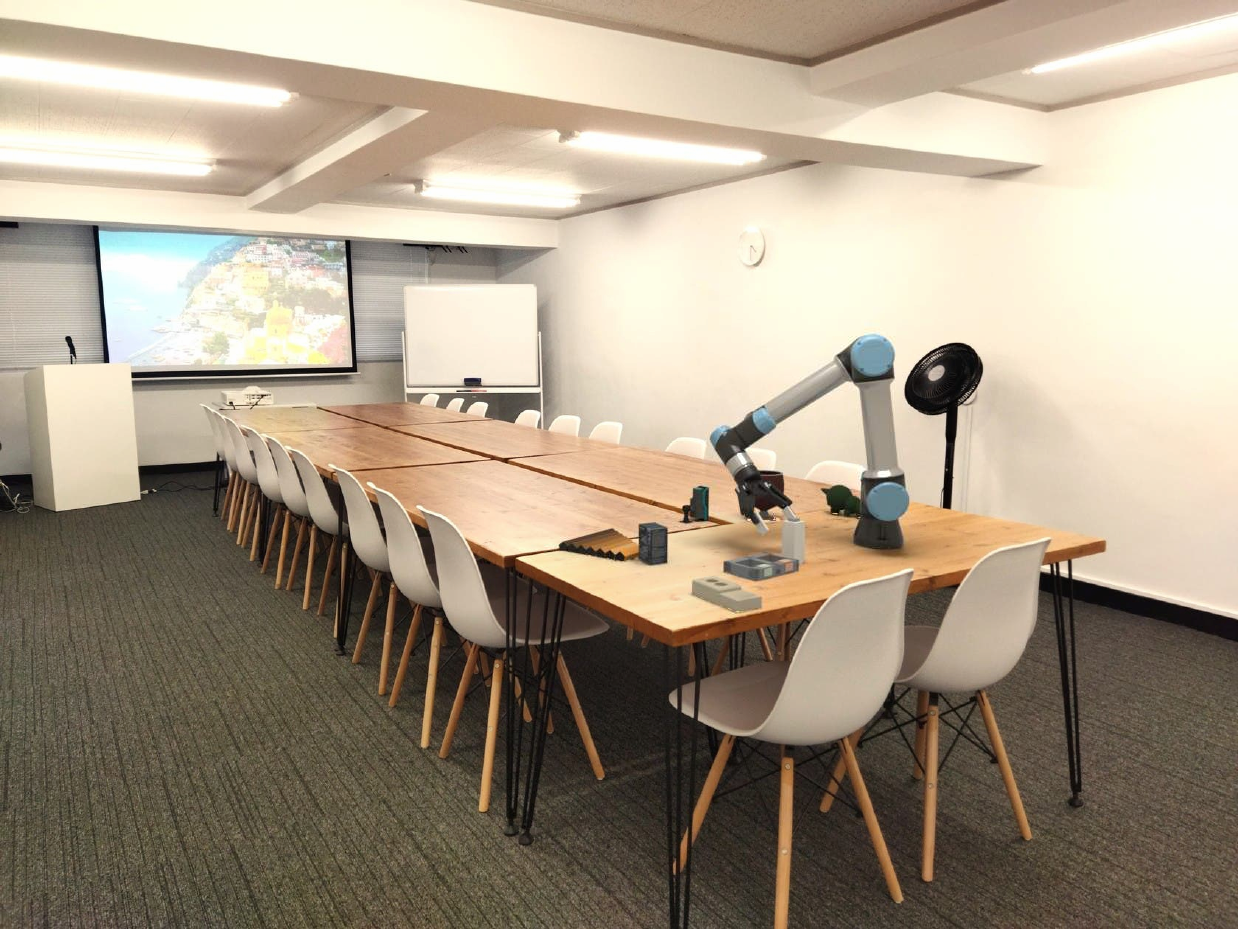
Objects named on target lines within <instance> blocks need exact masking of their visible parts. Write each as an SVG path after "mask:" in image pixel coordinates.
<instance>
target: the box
mask: <svg viewBox="0 0 1238 929" xmlns="http://www.w3.org/2000/svg"><path fill="white" fill-rule="evenodd" d="M668 531H669V527H668V526H665V525H662V524H660V523H657V522H655V521H654V522H645V523H638V545H639V557H638V560H640V561H642V562H644V563H647V564H648V565H649V566H657V565H665V564H668V555H669V554H668V552H669V551H668V549H669V547H668V545H669V544H668V543H669V542H668V541H669V538H668V537H669V535H668V534H669V532H668Z"/></svg>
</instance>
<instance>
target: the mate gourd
mask: <svg viewBox="0 0 1238 929" xmlns="http://www.w3.org/2000/svg"><path fill="white" fill-rule="evenodd" d="M758 471H759V472H760V474H761V480H762V481H763V482H764V483H766V482H767V481H768V480H770V481H771V482H772V483H773V485H774V486H775V487H776V488H778V489H779V490H780V491H781V492H782V493H783V494H784V495H785V480H784V479H785V478H784V472H782V471H778V470H770V469H769V470H768V469H767V470H765V469H762V470H761V469H758ZM766 493H767V491H766ZM746 498H747V493H746ZM776 507H778V506H776V505H775V504H773V503H771V502H770V501H768V500H767V499H763V498H757V499H755V508H754V509H757V510H758V511H759V512H758V513H759V515H760V516H761V518H762V520H770V521H776V520H773V519H774V517H773V516H774V515H769V511H770V510H772V509H774V508H776ZM745 519H750V518H749V517H748V518H746V517H745ZM775 519H776V518H775Z"/></svg>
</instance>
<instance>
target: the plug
mask: <svg viewBox="0 0 1238 929" xmlns="http://www.w3.org/2000/svg"><path fill="white" fill-rule="evenodd" d="M781 522H782V524H781V526H782V527H781V555H780V556H784V557H788V558H792V559H797V560H799V565H801V564H804V563H805V544H806V543H805V542H806V541H805V540H806V521H805V520H801V518H799V517H796V518H795V517H792V518H788V520H787V519H785V520H781Z"/></svg>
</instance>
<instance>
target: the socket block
mask: <svg viewBox="0 0 1238 929" xmlns="http://www.w3.org/2000/svg"><path fill="white" fill-rule="evenodd" d="M799 565H800V564H799V560H797V559H792V558H788V557H784V556H781V555H779V554H775V553H770V552H766V551H763V552H761V553H755V554H751V555H746V556H742V557H741V556H740V557H738V558H733V559H729V560H723V573H725V572H727V573H726V574H729V573H730V574H729V575H733V576H736V575H737V577H739V578H744V579H748V580H751V581H755V582H758V581H763V580H767V579H771V578H775V577H778V576H783V575H787V574H792V573H795V572H799V567H800V566H799Z"/></svg>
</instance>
